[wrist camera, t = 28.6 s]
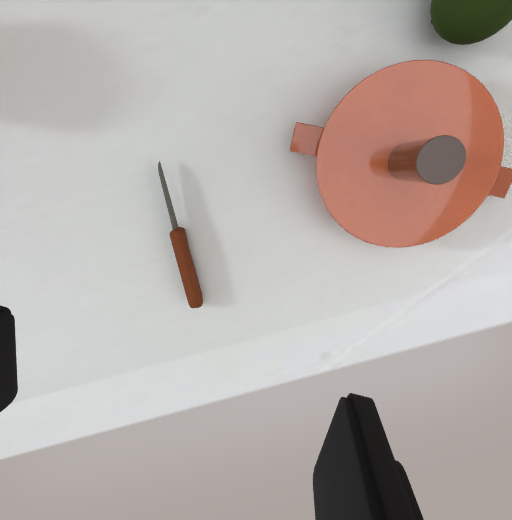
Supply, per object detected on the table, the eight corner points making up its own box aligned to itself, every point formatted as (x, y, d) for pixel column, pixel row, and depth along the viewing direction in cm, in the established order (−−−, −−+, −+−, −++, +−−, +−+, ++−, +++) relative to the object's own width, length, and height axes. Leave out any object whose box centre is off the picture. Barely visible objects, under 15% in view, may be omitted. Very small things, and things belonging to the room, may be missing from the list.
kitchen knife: (205, 302, 35) (200, 310, 33) (194, 303, 35) (188, 311, 33) (169, 159, 31) (161, 159, 29) (156, 162, 31) (147, 162, 29)
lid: (343, 47, 24) (364, 0, 17) (527, 85, 24) (625, 52, 17) (297, 224, 29) (299, 242, 22) (451, 260, 28) (503, 290, 21)
